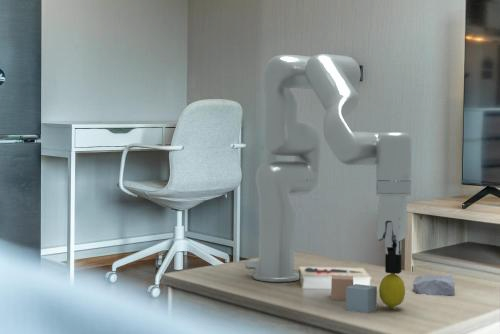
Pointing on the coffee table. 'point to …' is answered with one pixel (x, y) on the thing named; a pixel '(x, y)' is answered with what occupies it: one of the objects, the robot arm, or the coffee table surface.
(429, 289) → the stone block
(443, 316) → the coffee table surface
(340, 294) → the terracotta block
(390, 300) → the lemon
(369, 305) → the slate block
